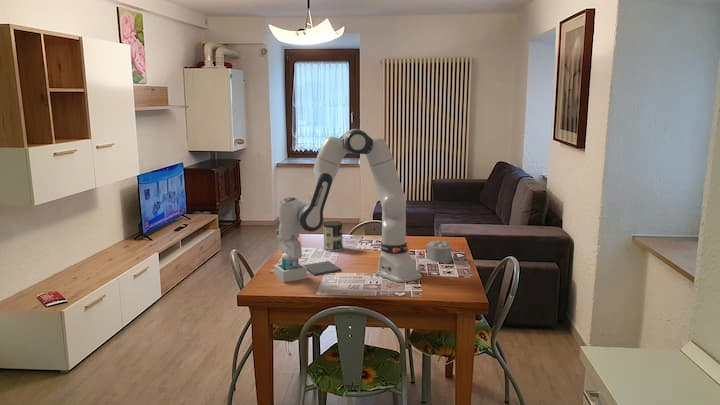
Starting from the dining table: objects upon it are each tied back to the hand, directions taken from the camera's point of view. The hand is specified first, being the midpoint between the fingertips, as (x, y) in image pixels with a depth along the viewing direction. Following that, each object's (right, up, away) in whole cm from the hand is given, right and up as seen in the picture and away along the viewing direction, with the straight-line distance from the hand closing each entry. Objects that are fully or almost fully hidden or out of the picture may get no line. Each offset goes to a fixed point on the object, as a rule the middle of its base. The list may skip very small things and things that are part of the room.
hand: (290, 262), depth 254 cm
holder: (0, -7, +1) cm, 7 cm away
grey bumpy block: (+72, -1, +27) cm, 77 cm away
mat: (+13, -4, +12) cm, 18 cm away
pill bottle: (0, -7, +1) cm, 7 cm away
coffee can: (+17, +2, +45) cm, 49 cm away
